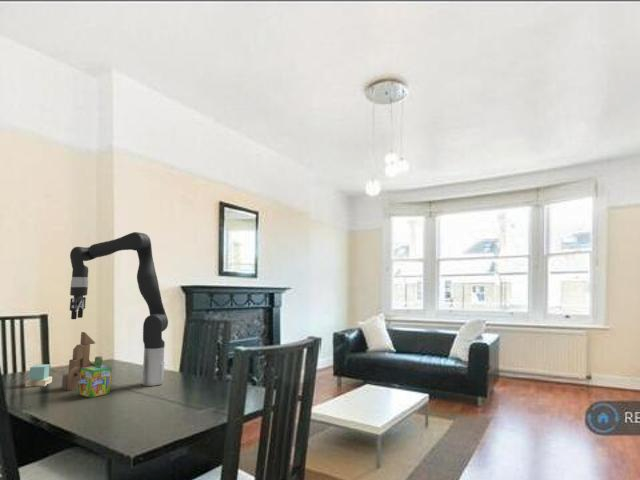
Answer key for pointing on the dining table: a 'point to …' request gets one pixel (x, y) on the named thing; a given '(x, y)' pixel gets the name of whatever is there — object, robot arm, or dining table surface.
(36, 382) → the maple pedestal
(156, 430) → the dining table surface
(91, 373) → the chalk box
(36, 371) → the teal cube
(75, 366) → the wooden toy
